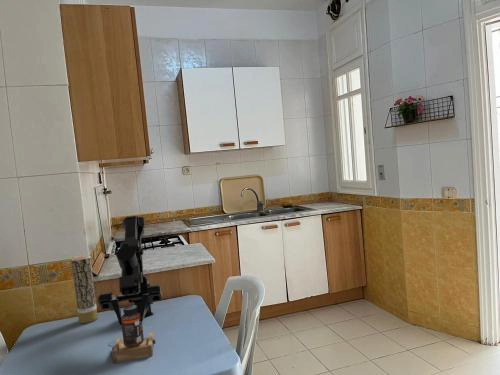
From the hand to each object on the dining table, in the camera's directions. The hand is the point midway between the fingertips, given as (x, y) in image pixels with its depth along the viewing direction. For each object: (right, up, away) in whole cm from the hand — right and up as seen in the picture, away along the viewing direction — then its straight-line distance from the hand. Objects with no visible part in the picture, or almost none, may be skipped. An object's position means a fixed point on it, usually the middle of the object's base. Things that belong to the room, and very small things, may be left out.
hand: (131, 322), depth 114 cm
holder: (+1, -9, +2) cm, 9 cm away
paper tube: (-27, -11, +33) cm, 44 cm away
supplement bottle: (0, -7, +2) cm, 7 cm away
